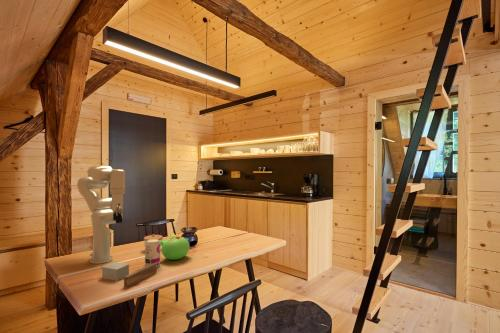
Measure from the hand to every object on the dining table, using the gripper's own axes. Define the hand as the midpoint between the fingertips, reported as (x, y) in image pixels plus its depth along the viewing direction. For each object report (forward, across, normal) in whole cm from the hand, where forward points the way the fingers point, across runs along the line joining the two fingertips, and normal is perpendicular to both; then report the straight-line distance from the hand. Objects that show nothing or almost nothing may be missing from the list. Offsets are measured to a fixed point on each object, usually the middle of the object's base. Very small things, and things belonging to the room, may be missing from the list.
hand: (117, 221), depth 151 cm
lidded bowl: (+27, -26, +26) cm, 46 cm away
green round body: (+28, 0, +33) cm, 43 cm away
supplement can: (+28, +5, +18) cm, 33 cm away
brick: (+28, +10, -2) cm, 29 cm away
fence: (+28, +21, +8) cm, 36 cm away
